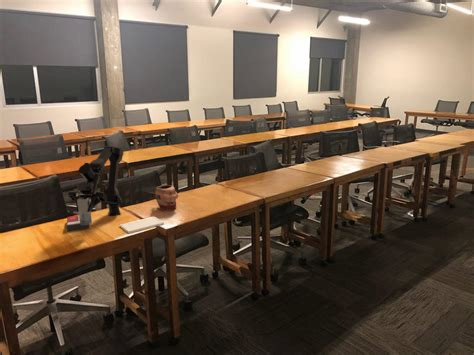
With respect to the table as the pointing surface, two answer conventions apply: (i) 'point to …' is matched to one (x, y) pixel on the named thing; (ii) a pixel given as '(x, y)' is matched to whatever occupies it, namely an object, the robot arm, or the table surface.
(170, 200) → the decorative planter
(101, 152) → the robot arm
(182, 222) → the table surface
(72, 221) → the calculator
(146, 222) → the tile
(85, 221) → the tin
